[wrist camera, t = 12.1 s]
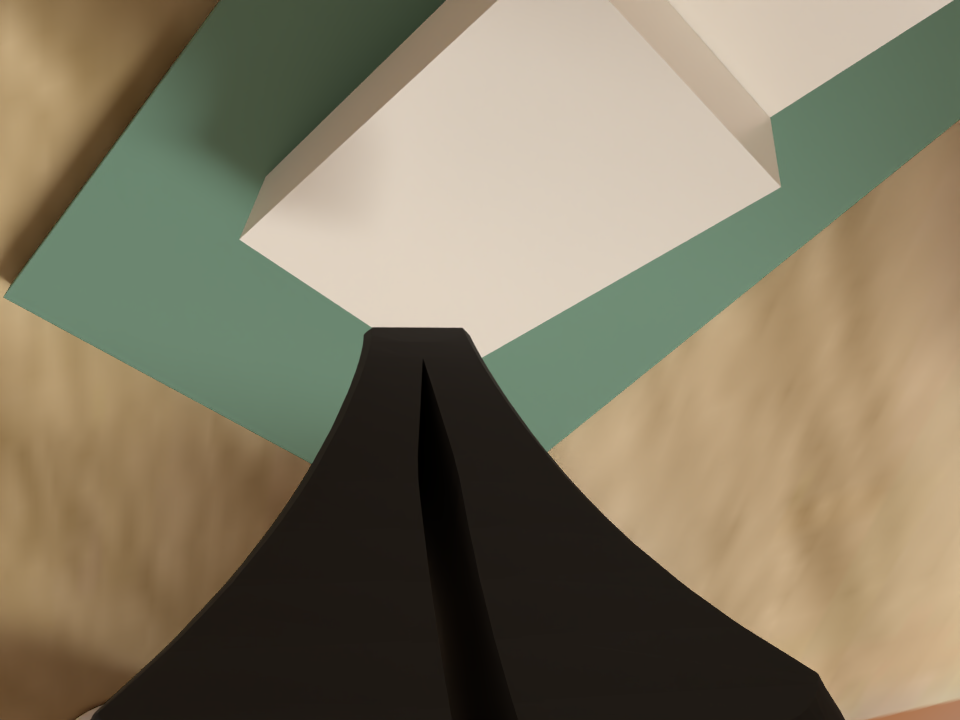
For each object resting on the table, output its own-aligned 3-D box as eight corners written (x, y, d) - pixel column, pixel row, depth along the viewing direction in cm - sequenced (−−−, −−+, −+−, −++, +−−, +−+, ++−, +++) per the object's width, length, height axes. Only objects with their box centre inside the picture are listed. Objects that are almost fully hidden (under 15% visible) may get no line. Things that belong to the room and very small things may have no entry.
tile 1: (447, 377, 16) (780, 187, 12) (239, 239, 14) (557, -56, 10) (458, 314, 17) (770, 118, 13) (266, 176, 15) (565, -116, 11)
